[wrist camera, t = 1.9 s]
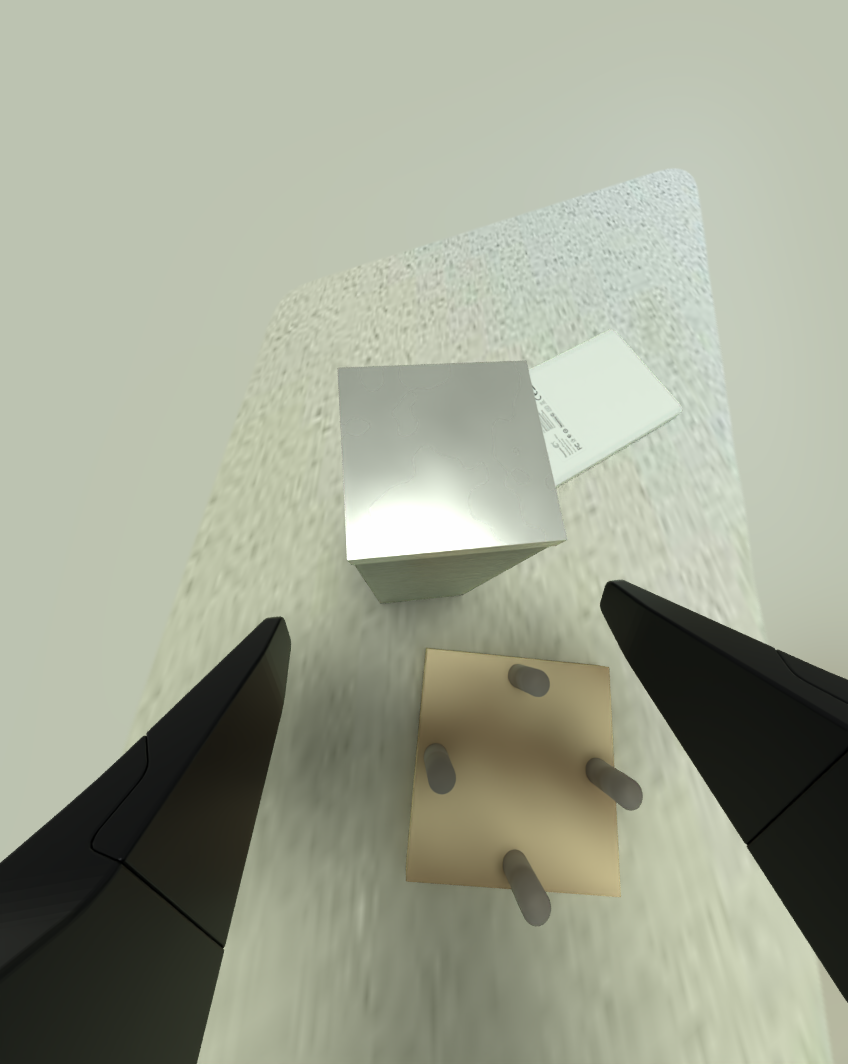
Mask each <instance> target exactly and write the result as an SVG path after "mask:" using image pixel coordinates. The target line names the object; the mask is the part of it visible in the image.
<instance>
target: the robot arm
mask: <svg viewBox="0 0 848 1064" xmlns="http://www.w3.org/2000/svg"><path fill="white" fill-rule="evenodd" d="M600 608H601V611H602V613H603V615H604V617H605V619H606V621H607V623H608V625H609V627H610V629H611V631H612V633H613V635H614V637H615V639H616V641H617V643H618V645H619V647H620V649H621V650H622V652H623V654H624V656H625V658H626V659H627V661H628V663H629V664H630V666H631V668H632V669H633V671H634V672H635V674H636V675H637V677H638V678H639V680H640V682H641V683H642V685H643V686H644V688H645V689H646V691H647V692H648V694H649V696H650V697H651V699H652V700H653V702H654V703H655V705H656V706H657V708H658V709H659V711H660V713H661V714H662V716H663V717H664V719H665V720H666V722H667V723H668V725H669V727H670V728H671V730H672V731H673V733H674V734H675V736H676V737H677V739H678V740H679V742H680V744H681V745H682V747H683V748H684V750H685V751H686V753H687V754H688V756H689V758H690V759H691V761H692V762H693V764H694V765H695V767H696V768H697V770H698V772H699V773H700V775H701V776H702V778H703V779H704V781H705V782H706V784H707V785H708V787H709V789H710V790H711V792H712V793H713V795H714V796H715V798H716V799H717V801H718V803H719V804H720V806H721V807H722V809H723V810H724V812H725V813H726V815H727V817H728V818H729V820H730V821H731V823H732V824H733V826H734V827H735V829H736V830H737V832H738V834H739V835H740V837H741V838H742V840H743V841H744V843H745V844H747V848H748V850H749V851H750V853H751V854H752V856H753V857H754V859H755V860H756V862H757V863H758V865H759V867H760V868H761V870H762V871H763V873H764V874H765V876H766V877H767V879H768V881H769V882H770V884H771V885H772V887H773V888H774V890H775V891H776V893H777V895H778V896H779V898H780V899H781V901H782V902H783V904H784V905H785V907H786V908H787V910H788V912H789V913H790V915H791V916H792V918H793V919H794V921H795V922H796V924H797V926H798V927H799V929H800V930H801V932H802V933H803V935H804V936H805V938H806V940H807V941H808V943H809V944H810V946H811V947H812V949H813V950H814V952H815V954H816V955H817V957H818V958H819V960H820V961H821V963H822V964H823V966H824V967H825V969H826V971H827V972H828V974H829V975H830V977H831V978H832V980H833V981H834V983H835V985H836V986H837V988H838V989H839V991H840V992H841V994H842V995H843V997H844V998H845V1000H846V1001H847V1002H848V680H847V679H845V678H842V677H840V676H837V675H835V674H832V673H830V672H828V671H825V670H823V669H821V668H818V667H816V666H814V665H811V664H809V663H807V662H805V661H803V660H800V659H798V658H795V657H794V656H791V655H789V654H787V653H785V652H782V651H780V650H775V648H773V647H771V646H769V645H767V644H765V643H762V642H760V641H758V640H756V639H753V638H751V637H749V636H747V635H744V634H742V633H740V632H738V631H736V630H733V629H731V628H729V627H727V626H724V625H722V624H720V623H718V622H716V621H713V620H711V619H709V618H707V617H704V616H702V615H700V614H698V613H696V612H693V611H691V610H689V609H687V608H684V607H682V606H680V605H678V604H676V603H673V602H671V601H669V600H667V599H664V598H662V597H660V596H658V595H656V594H653V593H651V592H649V591H647V590H644V589H642V588H640V587H638V586H636V585H633V584H631V583H629V582H627V581H624V580H614V581H609V582H607V583H606V585H605V588H604V591H603V595H602V598H601V602H600ZM290 651H291V639H290V636H289V632H288V629H287V626H286V623H285V620H284V618H283V617H270V618H266V619H265V620H263V621H262V622H261V623H260V624H259V625H258V626H257V627H256V628H255V629H254V630H253V631H252V632H251V633H250V634H249V635H248V636H247V637H246V638H245V639H244V640H243V641H242V642H241V643H240V644H239V645H237V646H236V647H235V648H234V649H233V650H232V651H231V652H230V653H229V654H228V655H227V656H226V657H225V658H224V659H223V660H222V661H221V662H220V663H219V664H218V665H217V666H216V667H215V668H214V669H212V670H211V671H210V672H209V673H208V674H207V675H206V676H205V677H204V678H203V679H202V680H201V681H200V682H199V683H198V684H197V685H196V686H195V687H194V688H193V689H192V690H191V691H190V692H189V693H187V694H186V695H185V696H184V697H183V698H182V699H181V700H180V701H179V702H178V703H177V704H176V705H175V706H174V707H173V708H172V709H171V710H170V711H169V712H168V713H167V714H166V715H165V716H164V717H162V718H161V719H160V720H159V721H158V722H157V723H156V724H155V725H154V726H153V727H152V728H151V729H150V730H149V731H148V732H147V736H143V737H142V738H140V739H139V740H138V741H137V742H136V743H135V744H134V745H133V746H132V747H131V748H130V749H129V750H128V751H127V752H126V753H125V754H124V755H123V756H122V757H121V758H119V759H118V760H117V761H116V762H115V763H114V764H113V765H112V766H111V767H110V768H109V769H108V770H107V771H105V772H104V773H103V774H102V775H101V776H100V777H99V778H98V779H97V780H96V781H95V782H93V783H92V784H91V785H90V786H89V787H88V788H87V789H85V790H84V791H83V792H82V793H81V794H80V795H79V796H77V797H76V798H75V799H74V800H73V801H72V802H71V803H70V804H68V805H67V806H66V807H65V808H64V809H63V810H61V811H60V812H59V813H58V814H57V815H56V816H54V817H53V818H52V819H51V820H50V821H49V822H47V823H46V824H45V825H44V826H43V827H42V828H40V829H39V830H38V831H37V832H36V833H35V834H33V835H32V836H31V837H30V838H29V839H28V840H26V841H25V842H24V843H23V844H22V845H21V846H19V847H18V848H17V849H16V850H15V851H14V852H13V853H11V854H10V855H9V856H8V857H7V858H6V859H4V860H3V861H2V862H1V863H0V1064H197V1061H198V1057H199V1053H200V1048H201V1044H202V1040H203V1036H204V1032H205V1028H206V1024H207V1020H208V1015H209V1011H210V1007H211V1003H212V999H213V995H214V991H215V987H216V982H217V978H218V974H219V970H220V966H221V962H222V958H223V954H224V949H223V948H224V947H225V944H226V940H227V936H228V932H229V928H230V924H231V920H232V916H233V912H234V907H235V903H236V899H237V895H238V891H239V887H240V883H241V879H242V874H243V870H244V866H245V862H246V858H247V854H248V850H249V846H250V842H251V837H252V833H253V829H254V825H255V821H256V817H257V813H258V809H259V804H260V800H261V796H262V792H263V788H264V784H265V780H266V776H267V772H268V767H269V763H270V759H271V755H272V751H273V747H274V743H275V739H276V734H277V730H278V726H279V722H280V718H281V714H282V709H283V705H284V698H285V691H286V683H287V675H288V667H289V659H290Z"/></svg>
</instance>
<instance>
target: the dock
mask: <svg viewBox="0 0 848 1064" xmlns="http://www.w3.org/2000/svg"><path fill="white" fill-rule="evenodd" d="M642 798H643V794H642V790H641V788H640V786H639V784H638V783H637V782H636V781H635V780H633V779H632V778H630V777H628V776H627V775H625V774H624V773H622V772H621V771H619V770H617V769H616V768H614V754H613V734H612V714H611V694H610V675H609V667H605V666H599V665H589V664H579V663H570V662H560V661H550V660H540V659H530V658H521V657H511V656H501V655H491V654H481V653H471V652H462V651H452V650H442V649H432V648H426V654H425V664H424V675H423V686H422V697H421V708H420V719H419V729H418V740H417V751H416V762H415V773H414V783H413V794H412V805H411V816H410V827H409V837H408V848H407V859H406V881H408V882H422V883H435V884H449V885H463V886H476V887H490V888H503V889H512V891H513V894H514V896H515V898H516V901H517V903H518V905H519V907H520V910H521V912H522V914H523V916H524V918H525V920H526V921H527V922H528V923H529V924H531V925H533V926H541V925H543V924H544V923H545V922H546V921H547V920H548V918H549V916H550V912H551V904H550V900H549V897H548V895H547V894H546V892H558V893H571V894H585V895H599V896H612V897H621V892H620V872H619V852H618V833H617V813H616V802H617V803H618V804H619V805H621V806H622V807H623V808H625V809H627V810H635V809H637V808H638V807H639V806H640V805H641V803H642Z"/></svg>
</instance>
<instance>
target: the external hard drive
mask: <svg viewBox="0 0 848 1064" xmlns="http://www.w3.org/2000/svg"><path fill="white" fill-rule="evenodd" d="M529 374H530V378H531V383H532V387H533V391H534V396H535V400H536V404H537V409H538V413H539V417H540V422H541V426H542V430H543V435H544V439H545V443H546V448H547V452H548V456H549V461H550V465H551V469H552V474H553V478H554V482H555V487H556V488H557V487H559V486H560V485H562V484H564V483H565V482H567V481H569V480H570V479H572V478H574V477H576V476H577V475H579V474H581V473H582V472H584V471H586V470H587V469H589V468H591V467H593V466H594V465H596V464H598V463H599V462H601V461H603V460H604V459H606V458H608V457H609V456H611V455H613V454H614V453H616V452H618V451H620V450H621V449H623V448H625V447H626V446H628V445H630V444H631V443H633V442H635V441H636V440H638V439H640V438H641V437H643V436H645V435H647V434H648V433H650V432H652V431H653V430H655V429H657V428H658V427H660V426H662V425H663V424H665V423H667V422H668V421H670V420H672V419H673V418H675V417H676V416H678V415H679V414H680V413H681V412H682V407H681V405H680V403H679V402H678V401H677V400H676V399H675V398H674V396H673V395H672V394H671V393H670V392H669V391H668V390H667V388H666V387H665V386H664V385H663V384H662V383H661V382H660V381H659V379H658V378H657V377H656V376H655V375H654V374H653V373H652V372H651V370H650V369H649V368H648V367H647V366H646V365H645V364H644V363H643V361H642V360H641V359H640V358H639V357H638V356H637V354H636V353H635V352H634V351H633V350H632V349H631V347H630V346H628V344H627V343H626V342H625V341H624V339H622V338H621V336H620V335H619V334H618V333H617V332H616V331H614V330H613V329H609V330H607V331H605V332H603V333H601V334H599V335H597V336H595V337H593V338H591V339H589V340H587V341H585V342H583V343H581V344H579V345H577V346H575V347H573V348H571V349H569V350H567V351H565V352H563V353H561V354H559V355H557V356H555V357H553V358H551V359H549V360H547V361H545V362H543V363H541V364H539V365H537V366H535V367H533V368H531V369H529Z"/></svg>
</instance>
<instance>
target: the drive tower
mask: <svg viewBox="0 0 848 1064" xmlns="http://www.w3.org/2000/svg"><path fill="white" fill-rule="evenodd" d="M338 387H339V406H340V426H341V446H342V465H343V485H344V505H345V524H346V544H347V560H348V562H349V563H350V564H351V565H355V566H356V568H357V569H358V571H359V572H360V574H361V575H362V577H363V578H364V580H365V581H366V583H367V584H368V586H369V587H370V589H371V590H372V592H373V593H374V595H375V596H376V598H377V599H378V601H379V602H380V603H381V604H383V603H392V602H402V601H411V600H420V599H430V598H439V597H449V596H458V595H463V594H465V593H467V592H469V591H470V590H472V589H474V588H476V587H477V586H479V585H481V584H483V583H485V582H486V581H488V580H490V579H492V578H494V577H495V576H497V575H499V574H501V573H503V572H504V571H506V570H508V569H510V568H512V567H513V566H515V565H517V564H519V563H520V562H522V561H524V560H526V559H528V558H529V557H531V556H533V555H535V554H537V553H538V552H540V551H542V550H544V549H546V548H547V547H549V546H557V545H558V544H560V543H562V542H564V541H566V540H568V539H567V535H566V530H565V526H564V522H563V517H562V513H561V509H560V504H559V500H558V496H557V491H556V487H555V482H554V478H553V474H552V469H551V465H550V461H549V456H548V452H547V448H546V443H545V439H544V435H543V430H542V426H541V422H540V417H539V413H538V409H537V404H536V400H535V396H534V391H533V387H532V383H531V378H530V374H529V370H528V365H527V361H502V362H476V363H450V364H424V365H398V366H372V367H346V368H338Z"/></svg>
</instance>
